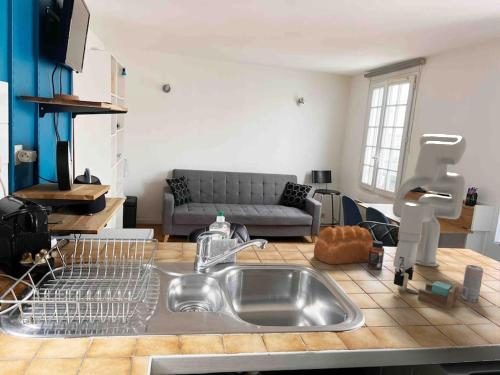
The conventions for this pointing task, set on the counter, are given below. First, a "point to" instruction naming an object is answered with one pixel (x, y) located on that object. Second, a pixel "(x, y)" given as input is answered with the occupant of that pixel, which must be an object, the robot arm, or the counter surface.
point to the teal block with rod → (436, 287)
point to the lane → (439, 296)
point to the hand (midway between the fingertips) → (402, 281)
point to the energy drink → (472, 283)
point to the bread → (343, 245)
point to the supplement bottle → (376, 255)
